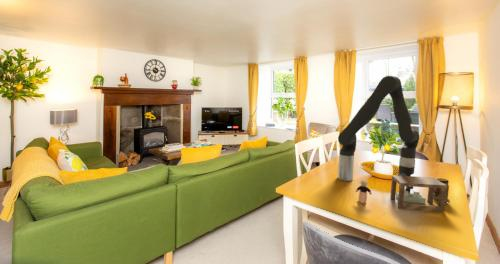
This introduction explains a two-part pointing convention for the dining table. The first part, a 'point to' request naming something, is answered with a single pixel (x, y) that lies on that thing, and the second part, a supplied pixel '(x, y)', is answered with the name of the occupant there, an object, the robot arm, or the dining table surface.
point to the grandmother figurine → (363, 192)
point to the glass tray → (412, 197)
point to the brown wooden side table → (419, 182)
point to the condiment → (437, 191)
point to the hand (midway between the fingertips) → (404, 192)
